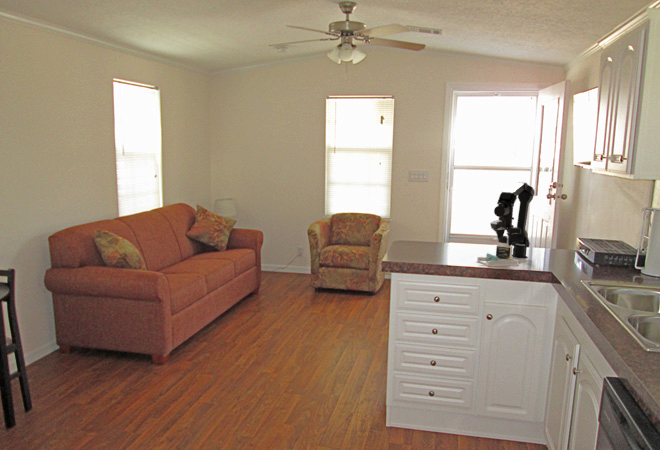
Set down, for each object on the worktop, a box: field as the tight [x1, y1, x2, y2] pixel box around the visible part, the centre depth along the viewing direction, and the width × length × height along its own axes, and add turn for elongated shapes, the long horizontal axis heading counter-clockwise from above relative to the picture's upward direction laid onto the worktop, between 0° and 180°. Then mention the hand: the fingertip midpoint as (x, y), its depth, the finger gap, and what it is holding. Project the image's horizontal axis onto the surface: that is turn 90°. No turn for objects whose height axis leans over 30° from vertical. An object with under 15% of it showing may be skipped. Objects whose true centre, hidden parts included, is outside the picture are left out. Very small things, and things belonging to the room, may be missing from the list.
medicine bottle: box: [495, 235, 513, 260], centre depth 270 cm, size 7×7×12 cm
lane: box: [476, 256, 519, 267], centre depth 270 cm, size 17×12×2 cm
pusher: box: [477, 252, 497, 261], centre depth 268 cm, size 8×8×4 cm
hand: (504, 244), depth 270 cm, fingers open, 9 cm apart
